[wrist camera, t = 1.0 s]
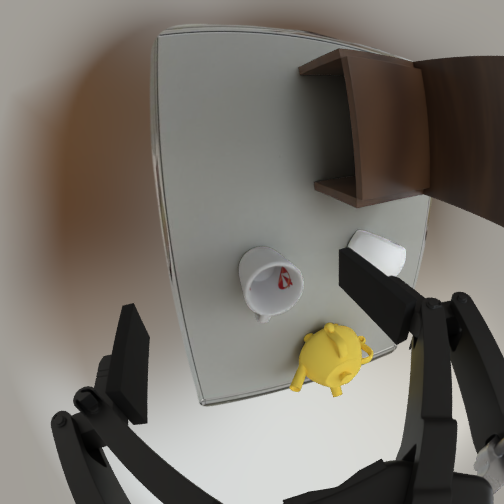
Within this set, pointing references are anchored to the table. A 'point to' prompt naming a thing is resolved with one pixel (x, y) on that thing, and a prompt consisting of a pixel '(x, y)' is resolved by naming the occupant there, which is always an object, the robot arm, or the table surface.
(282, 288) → the cup
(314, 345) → the teapot
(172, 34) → the table surface
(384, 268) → the computer mouse
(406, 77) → the wooden chair
